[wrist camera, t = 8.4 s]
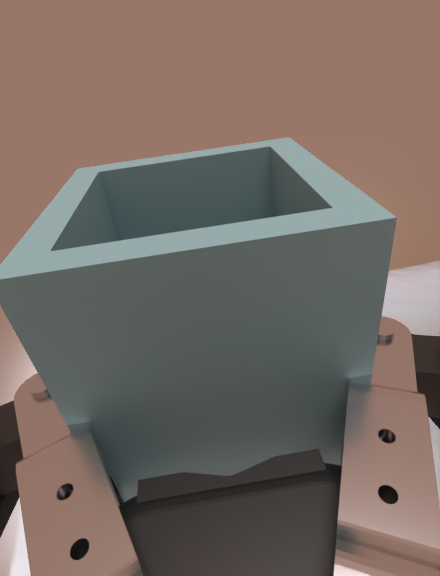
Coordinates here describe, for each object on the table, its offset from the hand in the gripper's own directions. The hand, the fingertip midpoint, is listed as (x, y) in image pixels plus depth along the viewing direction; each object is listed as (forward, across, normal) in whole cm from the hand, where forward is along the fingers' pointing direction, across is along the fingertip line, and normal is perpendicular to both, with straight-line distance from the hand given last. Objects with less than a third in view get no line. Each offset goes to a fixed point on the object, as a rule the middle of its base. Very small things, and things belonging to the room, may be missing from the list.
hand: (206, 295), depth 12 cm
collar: (-2, 0, +6) cm, 7 cm away
